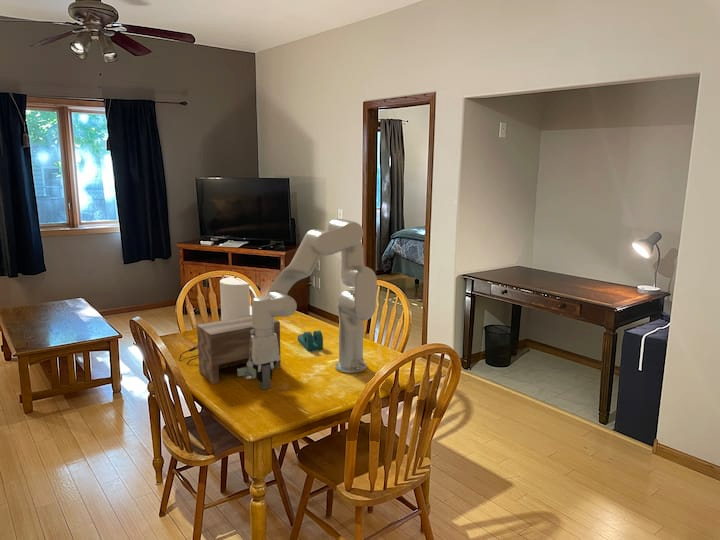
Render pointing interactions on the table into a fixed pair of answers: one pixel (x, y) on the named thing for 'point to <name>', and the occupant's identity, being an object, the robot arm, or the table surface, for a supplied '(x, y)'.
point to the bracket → (311, 341)
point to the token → (248, 376)
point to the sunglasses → (190, 351)
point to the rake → (265, 374)
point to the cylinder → (234, 298)
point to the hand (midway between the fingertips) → (264, 379)
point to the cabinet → (226, 345)
